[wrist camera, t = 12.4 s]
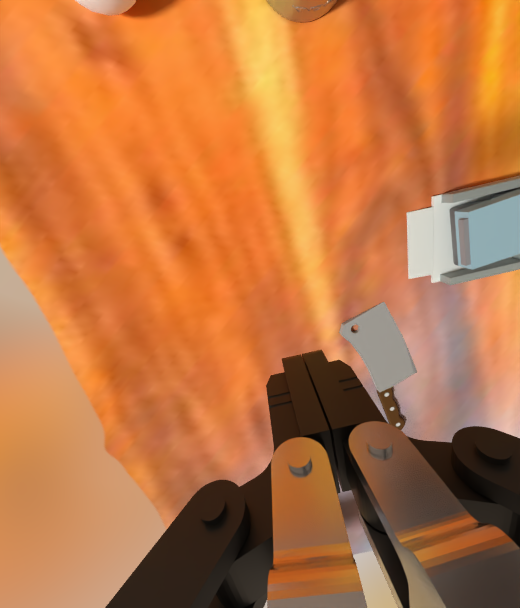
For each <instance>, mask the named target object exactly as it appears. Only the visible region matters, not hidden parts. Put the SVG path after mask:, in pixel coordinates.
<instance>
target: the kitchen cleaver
mask: <svg viewBox="0 0 520 608" xmlns="http://www.w3.org/2000/svg"><path fill="white" fill-rule="evenodd" d="M355 324H357V325H358V326H359V327H358V330H357V331H354V332H352V331H351V327H352V326H353V325H355ZM339 333H340V334H341V335H342V336H343V337H344V338H345V339H346V340H348V341H349V342H350V343H351V344H352V345H353V347H354V348H355V349H356V351H357V352H358V353H359V355H360V356H361V358H362V360H363V361H364V363H365V365H366V367H367V368H368V371H369V373H370V375H371V377H372V380H373V382H374V384H375V387H376V389H377V393H378V396H379V398H380V401H381V403H382V406H383V409H384V411H385V414H386V416H387V419H388V421H389V424H390V425H393V426H395V427H396V428H398V429H399V430H402V428H403V427H404V425H405V422H404V419H403V418H402V417H400V416H399V410H398V407H397V404H396V402H395V401H394V400H393V397H392V396H393V391H392V388H393V386H395V385H396V384H398V383H399V382H401V381H403V380H404V379H406V378H408V377H409V376H411V375H413V374H414V373H416V372H417V370H416V368H415V365H414V363H413V360H412V358H411V355H410V353H409V350H408V348H407V346H406V343H405V341H404V338H403V336H402V334H401V332H400V331H399V329H398V327H397V325H396V323H395V321H394V319H393V317H392V316H391V314H390V312H389V310H388V308H387V306H386V304H385V303H384V302H382V303H380V304H378V305H376V306H375V307H373V308H371V309H369V310H367V311H365V312H363V313H361V314H359V315H357V316H355V317H353V318H351V319H349V320H347V321H345V322H343V323H342V325H341V328H340V332H339Z"/></svg>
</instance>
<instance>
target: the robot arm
mask: <svg viewBox="0 0 520 608" xmlns="http://www.w3.org/2000/svg"><path fill="white" fill-rule="evenodd" d="M267 2H268V3H269V4H270V6H271V7H272V8H273V9H274V10H275V11H276V12H277V13H278V14H280V15H281V16H282V17H284V18H286V19H288V20H291V21H295V22H309V21H313V20H315V19H318V18H320V17H321V16H323V15H324V14H325V13H327V12H328V11H329V10H330V9H331V8H332V7H333V6H334V5H335V3H336V2H337V0H267ZM282 363H283V367H284V371H285V372H284V373H279V374H275V375H271V376H270V378H269V381H268V383H267V385H266V387H267V395H268V403H269V411H270V419H271V426H272V434H273V442H274V453H273V457H272V460H271V462H270V464H269V465H268V467H267V468H266V469H265V470H264V471H263V472H262V473H261V474H260V475H259V476H257V477H256V478H254V479H252V480H251V481H249V482H247V483H246V484H244V485H242V486H240V487H238V485H236V484H235V483H233V482H231V481H228V480H217V481H213V482H211V483H209V484H207V485H205V486H204V487H202V488H201V489H200V490H199V491H197V492H196V494H195V495H194V496H193V497H192V498H191V500H190V501H189V502H188V503H187V505H186V506H185V507H184V508H183V510H182V511H181V512H180V514H179V515H178V516H177V517H176V519H175V520H174V521H173V522H172V524H171V525H170V526H169V527H168V529H167V530H166V531H165V533H164V534H163V535H162V536H161V538H160V539H159V540H158V542H157V543H156V544H155V545H154V547H153V548H152V549H151V550H150V552H149V553H148V554H147V555H146V557H145V558H144V559H143V560H142V562H141V563H140V564H139V566H138V567H137V568H136V570H135V571H134V572H133V573H132V574H131V576H130V577H129V578H128V580H127V581H126V582H125V583H124V585H123V586H122V587H121V588H120V590H119V591H118V592H117V594H116V595H115V596H114V597H113V599H112V600H111V601H110V602H109V604H108V605H107V606H106V608H263V607H264V605H265V603H266V600H268V601H267V603H268V604H267V606H268V608H367V605H366V601H365V596H364V593H363V589H362V585H361V581H360V577H359V573H358V570H357V566H356V563H355V560H354V558H353V555H352V551H351V547H350V543H349V539H348V535H347V531H346V527H345V523H344V519H343V515H342V511H341V507H340V503H339V498H338V493H340V488H339V483H340V486H341V488H342V491H343V492H344V491H349V490H352V492H353V495H354V498H355V500H356V503H357V506H358V512H359V518H360V522H361V524H362V527H363V529H364V531H365V533H366V536H367V538H368V540H369V543H370V545H371V547H372V549H373V552H374V554H375V556H376V558H377V561H378V563H379V565H380V567H381V570H382V572H383V574H384V577H385V579H386V581H387V583H388V585H389V588H390V590H391V592H392V595H393V597H394V599H395V601H396V604H397V606H398V608H520V438H517V437H514V436H512V435H509V434H506V433H504V432H501V431H498V430H495V429H491V428H487V427H479V426H473V427H466V428H463V429H461V430H459V431H457V432H456V433H455V435H454V436H453V439H452V443H450V442H436V441H423V440H417V439H413V438H410V437H407V436H406V435H405V434H404V433H403V432H402V431H401V430H399V429H398V428H396V427H395V426H393V425H390V424H388V423H387V422H386V420H385V419H384V417H383V416H382V414H381V413H380V411H379V410H378V408H377V406H376V405H375V403H374V402H373V400H372V399H371V397H370V396H369V394H368V393H367V391H366V390H365V388H364V387H363V385H362V384H361V382H360V380H359V379H358V378H357V376H356V374H355V373H354V371H353V370H352V368H351V367H350V366H348V365H347V364H345V363H344V362H342V361H340V360H337V361H332V362H328V361H327V359H326V357H325V355H324V353H323V351H322V350H318V351H313V352H309V353H304V354H302V356H301V354H300V355H296V356H291V357H287V358H283V359H282ZM338 480H339V482H338Z"/></svg>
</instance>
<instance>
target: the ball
mask: <svg viewBox="0 0 520 608" xmlns="http://www.w3.org/2000/svg"><path fill="white" fill-rule="evenodd" d="M76 1H77V2H78V3H79V4H80V5H82V6H84V7H86V8H87V9H89V10H91V11H93V12H97V13H100V14H104V15H108V16H109V15H119V14H121V13H124V12H126V11H128V10H129V9H130V8H131V7H132V6H133V5H134V4H135V2H136V0H76Z"/></svg>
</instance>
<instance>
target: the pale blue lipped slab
mask: <svg viewBox="0 0 520 608" xmlns="http://www.w3.org/2000/svg"><path fill="white" fill-rule="evenodd" d="M449 211H450V224H451V236H452V249H453V262H454V264H455V265H457V266H461V267H464V268H468V269H471V270H473V269H476V268H479V267H482V266H485V265H488V264H491V263H494V262H497V261H500V260H503V259H506V258H509V257H512V256H515V255H518V254H520V187H518V188H514V189H510V190H506V191H502V192H497V193H493V194H492V195H491V199H489V200H480V201H473V202H468V203H464V204H461V205H458V206H455V207H453V208H451V209H450V210H449Z"/></svg>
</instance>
